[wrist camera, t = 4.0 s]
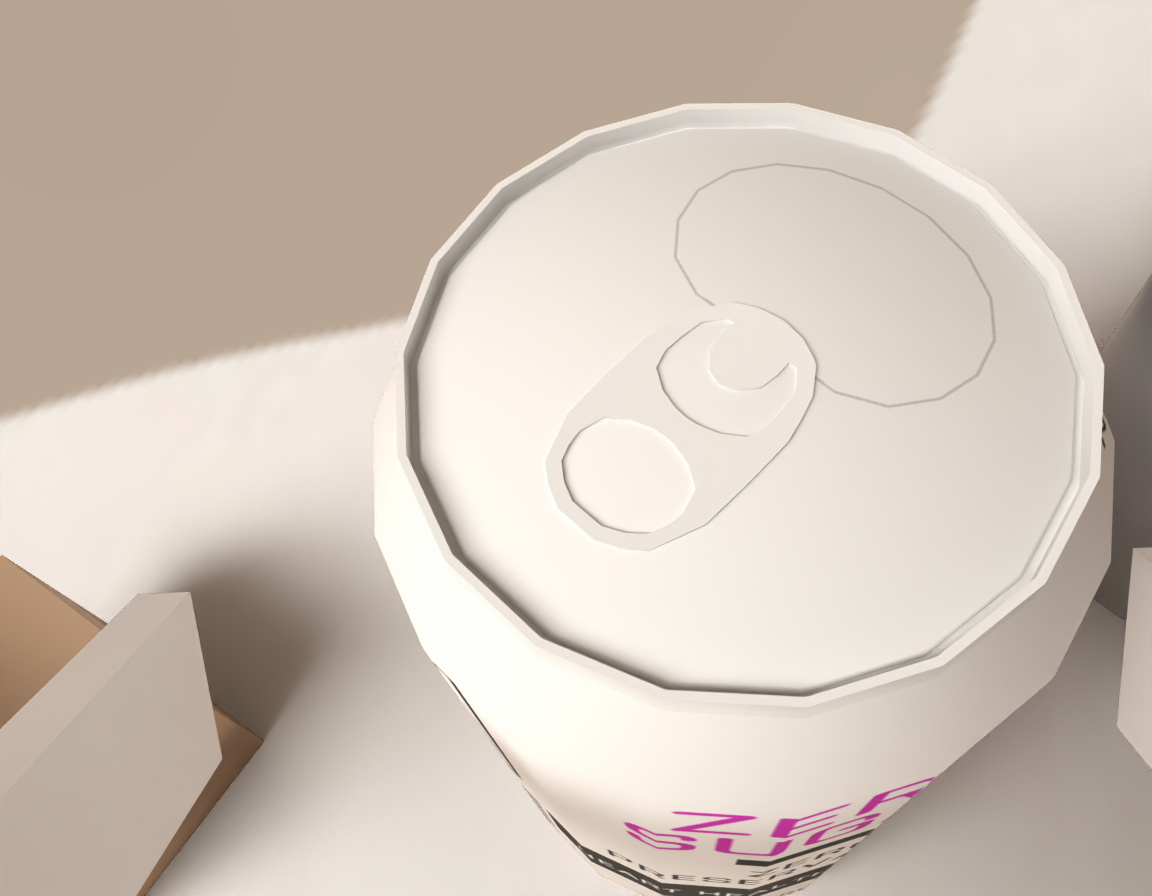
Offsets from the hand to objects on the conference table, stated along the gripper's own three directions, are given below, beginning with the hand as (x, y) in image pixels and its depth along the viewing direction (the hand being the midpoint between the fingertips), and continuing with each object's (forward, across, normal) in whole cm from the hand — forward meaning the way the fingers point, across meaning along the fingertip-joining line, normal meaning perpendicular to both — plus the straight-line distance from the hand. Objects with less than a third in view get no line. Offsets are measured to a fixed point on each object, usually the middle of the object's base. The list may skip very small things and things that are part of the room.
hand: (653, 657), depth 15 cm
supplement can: (+8, +1, -6) cm, 10 cm away
